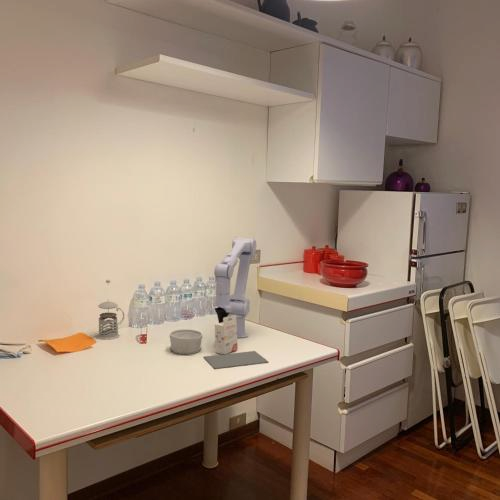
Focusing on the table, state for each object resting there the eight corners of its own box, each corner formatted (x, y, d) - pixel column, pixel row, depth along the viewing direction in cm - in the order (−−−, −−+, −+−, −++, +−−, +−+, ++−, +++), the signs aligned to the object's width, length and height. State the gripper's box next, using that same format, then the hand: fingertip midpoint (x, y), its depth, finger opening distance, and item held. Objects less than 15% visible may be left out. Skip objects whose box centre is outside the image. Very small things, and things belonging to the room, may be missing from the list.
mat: (203, 357, 197) (203, 356, 197) (254, 351, 206) (254, 350, 206) (214, 369, 185) (214, 368, 185) (268, 362, 194) (268, 361, 194)
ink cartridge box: (228, 347, 209) (227, 312, 208) (237, 349, 206) (237, 314, 205) (214, 352, 203) (214, 316, 201) (224, 354, 200) (223, 318, 198)
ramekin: (204, 346, 211) (205, 330, 210) (198, 356, 198) (199, 339, 197) (173, 344, 212) (174, 328, 211) (165, 354, 199) (165, 337, 198)
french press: (94, 334, 221) (94, 278, 218) (121, 331, 226) (121, 276, 223) (98, 340, 212) (97, 282, 209) (126, 338, 217) (126, 281, 214)
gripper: (208, 289, 212) (207, 321, 214) (219, 297, 199) (218, 330, 200) (223, 289, 215) (222, 320, 216) (236, 296, 201) (235, 329, 203)
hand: (222, 325), depth 209 cm, fingers closed
